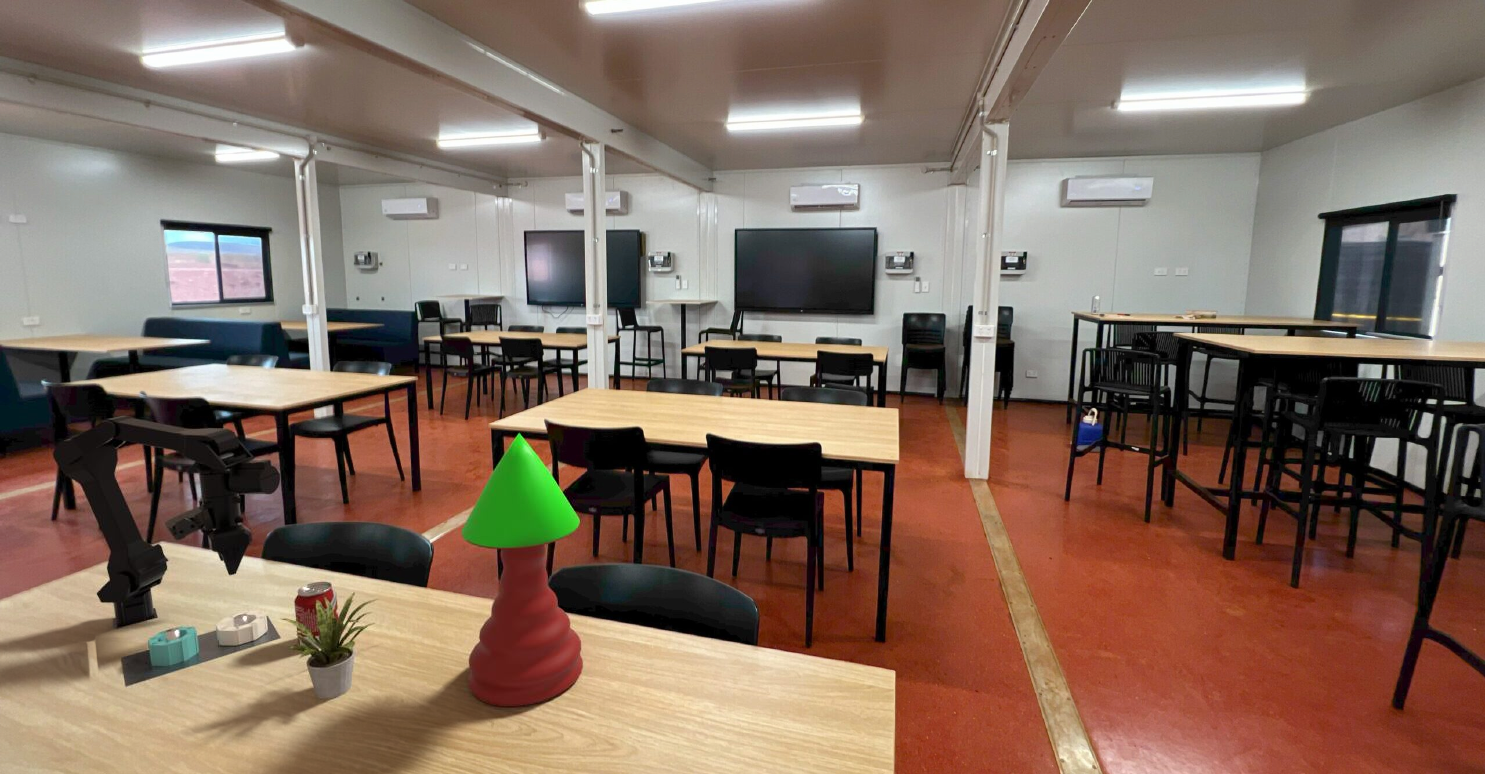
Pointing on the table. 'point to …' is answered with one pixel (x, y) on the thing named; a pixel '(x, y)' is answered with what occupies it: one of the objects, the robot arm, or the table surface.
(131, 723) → the table surface
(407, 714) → the table surface
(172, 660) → the teal blocky piece
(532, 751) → the table surface
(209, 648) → the gear board
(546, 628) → the table lamp
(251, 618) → the cream gear
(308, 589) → the soda can
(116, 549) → the robot arm
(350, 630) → the house plant
